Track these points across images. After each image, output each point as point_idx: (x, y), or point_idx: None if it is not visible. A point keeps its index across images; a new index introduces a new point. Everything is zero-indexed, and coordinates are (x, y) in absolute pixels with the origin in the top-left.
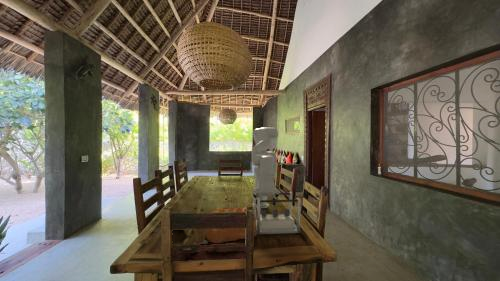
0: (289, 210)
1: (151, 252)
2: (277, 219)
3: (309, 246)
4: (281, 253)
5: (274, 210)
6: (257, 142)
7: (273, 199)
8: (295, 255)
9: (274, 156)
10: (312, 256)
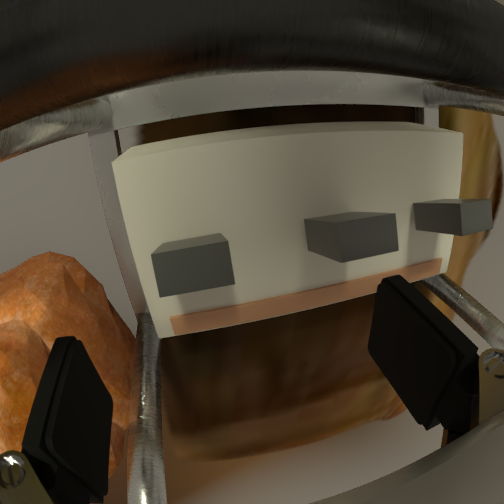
0: (486, 106)
1: None
2: (331, 294)
3: (384, 382)
4: (263, 441)
5: (353, 257)
6: None
7: (424, 410)
8: (308, 438)
9: None
10: (358, 426)
